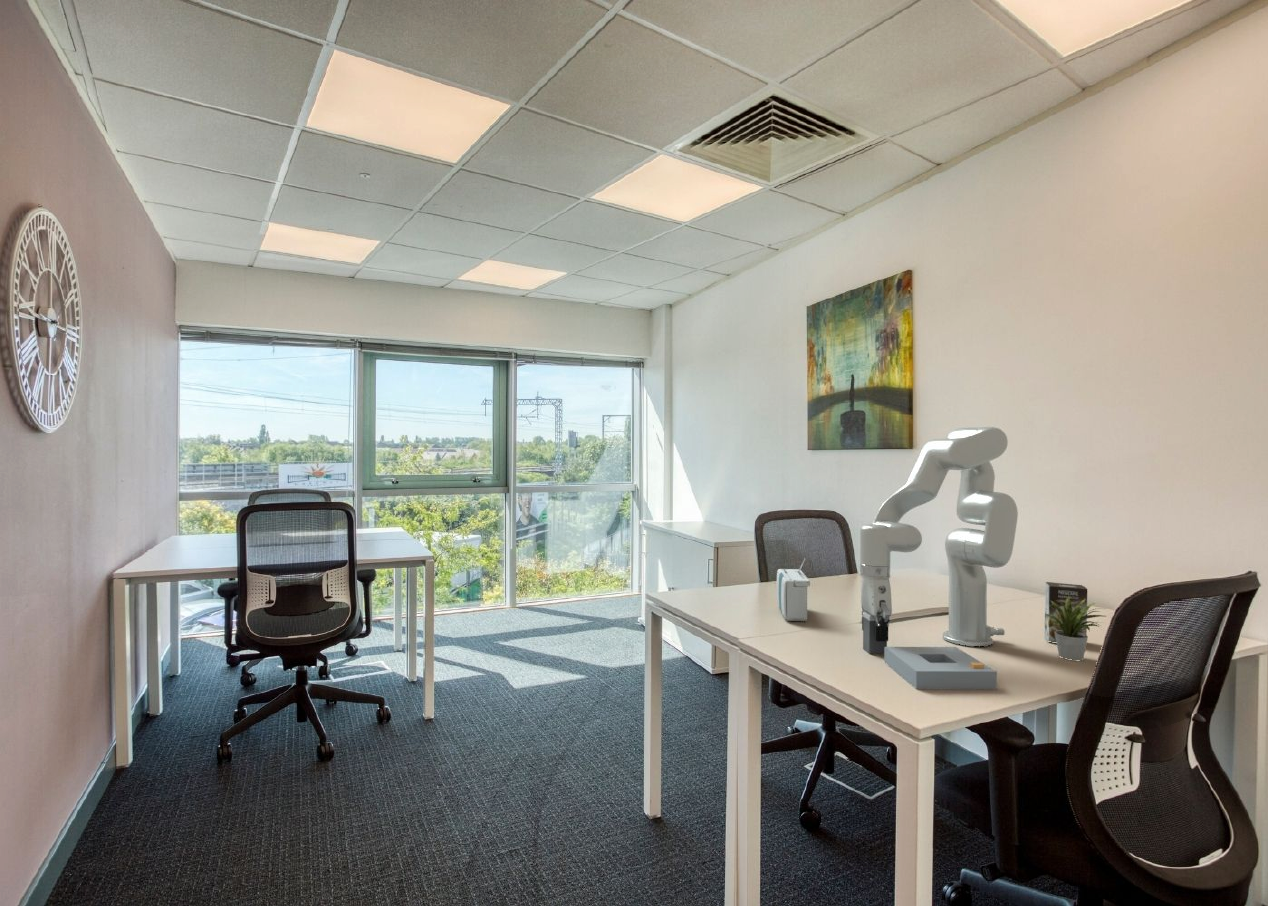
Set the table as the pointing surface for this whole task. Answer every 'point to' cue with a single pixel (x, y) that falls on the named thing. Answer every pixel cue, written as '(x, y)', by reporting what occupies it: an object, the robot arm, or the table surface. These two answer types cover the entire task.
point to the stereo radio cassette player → (792, 593)
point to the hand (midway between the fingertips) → (874, 635)
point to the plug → (871, 635)
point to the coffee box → (1061, 594)
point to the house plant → (1072, 629)
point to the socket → (940, 668)
